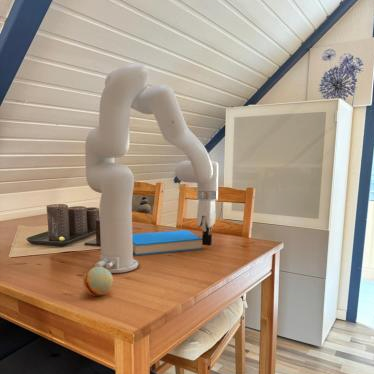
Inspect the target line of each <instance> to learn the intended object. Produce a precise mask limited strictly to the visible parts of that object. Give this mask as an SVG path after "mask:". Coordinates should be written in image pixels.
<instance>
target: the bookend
mask: <svg viewBox="0 0 374 374" xmlns="http://www.w3.org/2000/svg"><path fill="white" fill-rule="evenodd" d="M94 222H95V238H93V239H90V240H88V241H86V242H84V245H85V246H92V247H93V246H95V247H101V239H100V218H97V219H95V221H94Z"/></svg>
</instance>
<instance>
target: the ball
mask: <svg viewBox="0 0 374 374" xmlns="http://www.w3.org/2000/svg"><path fill="white" fill-rule="evenodd" d="M82 282H83V283H82V284H83V288H84V290H85V291H86V292H87V293H88V294H89V295H91V296H95V297H100V296H104V295H106V294H108V293H109V291H111V288H112V287H113V283H114V277H113V275H112V273H110V272H109V271H108V270H107V269H106V268H103V267H95V266H94V267H91V268H90V269H89V270H88V271H86V273H85V274H84V276H83V280H82Z"/></svg>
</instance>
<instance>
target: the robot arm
mask: <svg viewBox="0 0 374 374" xmlns="http://www.w3.org/2000/svg"><path fill="white" fill-rule="evenodd" d="M104 80H105V81H104V87H103V90H102V93H101V96H100V100H99V114H98V115H99V116H98V126H96V127H94V128H92V129H90V131H89V132H88V134H87V136H86V139H85V144H84V145H85V146H84V150H85V151H84V154H85V155H84V157H85V158H84V159H85V178H86V183H87V185H88V186H89V187H90V189H91V190H93V192H96V193H99V194H101V195H100V200H99V207H98V209H99V210H98V214H99V219H100V239H101V246H100V261H98V262H96V263H95V264H94V267H103V268H106V269H107V270H108V271H109V272H110V273H111V274H121V273H122V274H123V273H128V272H132V271H134V270H136V269H137V268H138V267H139V262H138V260H136V259H134V253H133V239H132V234H133V195H134V189H135V177H134V174H133V172H132V170H131V169H130V168H129V167H128V166H127V165H125V164H123V163H120V162H115V161H116V159H119V158H122V157H124V156H126V155H127V153H128V152H129V150H130V145H131V144H130V143H131V142H130V139H131V138H130V131H131V130H130V129H131V127H130V115H131V109H132V110H135V111H137V112H138V113H141V114H143V115H153V116H154V118H155V120H156V123H157V125H158V127H159V130H160V132H161V133H160V134H161V135H162V137H163V139H164V141H167V143H168V144H171V145H173V146H174V147H176V148H178V149H179V150H180V151H182V153H184V155H186V157H187V159H188V160H182V161H181V162H179V163H177V164H176V166H175V169H174V174H175V177H176V178H177V179H178V180H179V181H181V182H183V183H190V184H196V190H197V191H196V194H197V195H196V200H197V201H198V203H197V212H196V213H197V214H196V215H197V216H196V227H197V228H200V227H201V232H202V233H201V234H202V235H201V238H202V246H208V247H209V246H212V244H213V226H214V225H215V224H216V217H217V216H216V214H217V213H216V211H217V210H216V209H217V208H216V201H218V200H219V163H218V161H214V160H211V158H210V155H209V152H208V150H207V149H206V146H204V144H203V142H201V140H200V139H199V138H198V136H196V135H195V134H194V133H193V132H192V131H191V130H190V129H189V127H188V125H187V123H186V120H185V117H184V115H183V112H182V109H181V106H180V104H179V101H178V99H177V96H176V94H175V92H174V90H173V88H172V87H171V86H170V85H168V84H165V83H158V84H154V85H150V86H148V85H149V82H150V73H149V70H148V68H147V67H146V66H145V65H144V64H142V63H139V62H131V63H128V64H126V65H123V66H121V67H119V68H116V69H114V70H112V71H110V72H108V74H107V75H106V77H105V79H104Z"/></svg>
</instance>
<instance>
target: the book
mask: <svg viewBox="0 0 374 374" xmlns="http://www.w3.org/2000/svg"><path fill="white" fill-rule="evenodd" d="M132 239H133V255H135V256H145V255H157V254H165V253H176V252H177V253H178V252H187V251H196V250H203V245H202V237H200V236H198V235H197V234H195V233H193V232H191V231H189V230H188V229H183V230H182V229H181V230H170V231H169V230H168V231H156V232H144V233H132Z"/></svg>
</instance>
